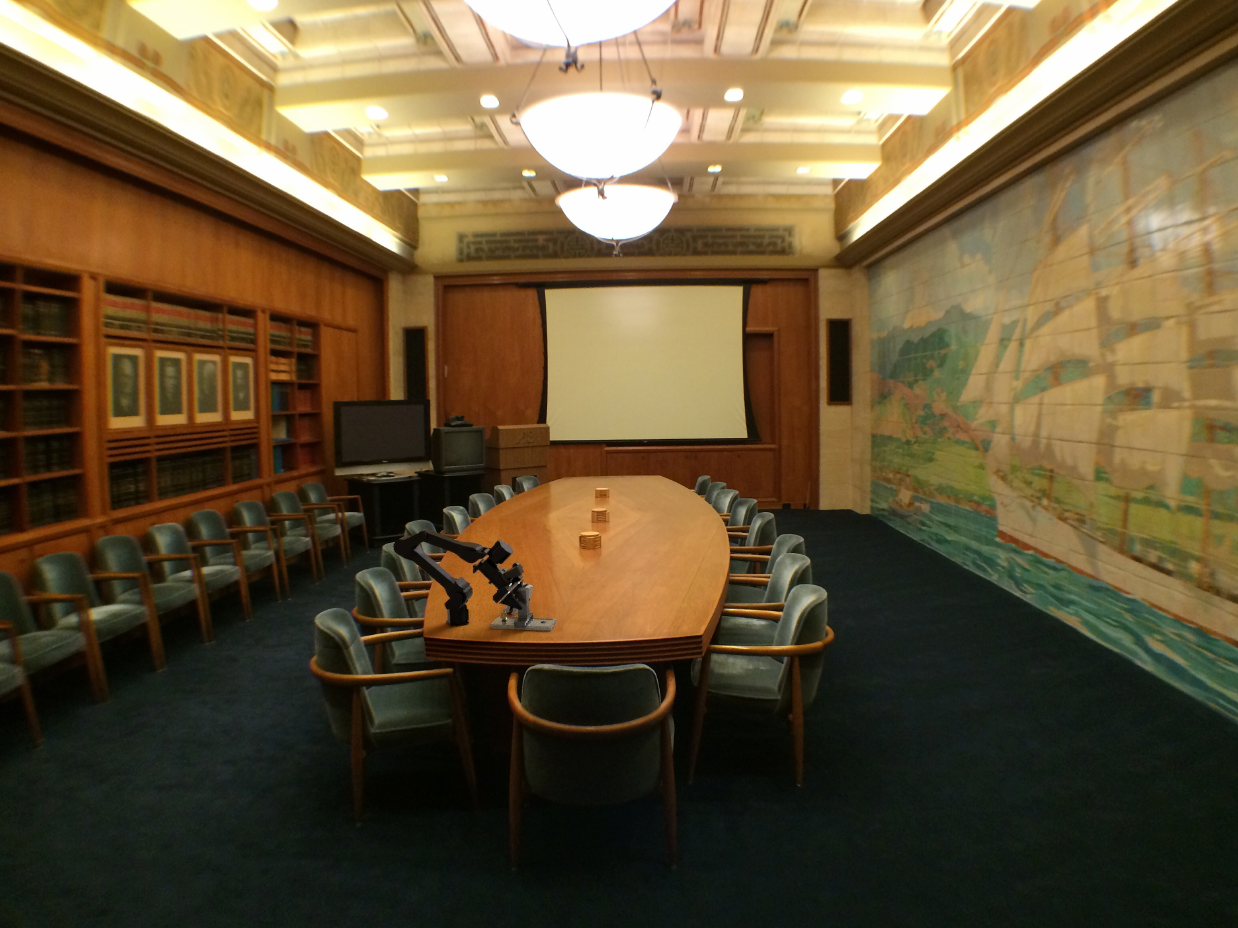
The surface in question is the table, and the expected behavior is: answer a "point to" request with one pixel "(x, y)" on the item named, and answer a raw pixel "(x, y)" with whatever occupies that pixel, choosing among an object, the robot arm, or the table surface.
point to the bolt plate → (532, 623)
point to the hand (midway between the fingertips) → (525, 605)
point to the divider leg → (524, 613)
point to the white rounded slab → (511, 609)
